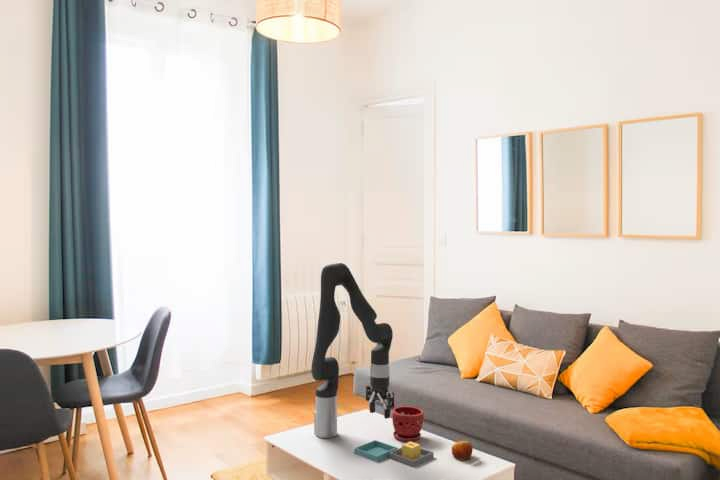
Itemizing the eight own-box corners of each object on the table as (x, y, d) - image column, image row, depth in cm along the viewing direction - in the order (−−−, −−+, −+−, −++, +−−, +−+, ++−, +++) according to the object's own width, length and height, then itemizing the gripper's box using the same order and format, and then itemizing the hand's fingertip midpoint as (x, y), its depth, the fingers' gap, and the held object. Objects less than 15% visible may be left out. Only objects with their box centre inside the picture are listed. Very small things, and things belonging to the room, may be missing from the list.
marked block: (402, 457, 233) (402, 444, 233) (410, 454, 237) (410, 441, 237) (412, 461, 230) (412, 447, 230) (420, 457, 234) (420, 444, 233)
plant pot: (407, 446, 246) (406, 417, 246) (386, 437, 257) (386, 409, 256) (429, 439, 254) (429, 411, 254) (408, 430, 265) (408, 403, 264)
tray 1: (354, 454, 238) (354, 448, 238) (375, 445, 247) (375, 439, 247) (376, 462, 230) (376, 456, 230) (397, 453, 238) (397, 447, 238)
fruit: (463, 461, 227) (456, 440, 230) (452, 466, 233) (446, 445, 236) (480, 457, 230) (473, 436, 234) (469, 462, 237) (462, 441, 240)
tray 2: (389, 458, 233) (388, 452, 233) (409, 450, 242) (409, 444, 242) (413, 467, 225) (413, 461, 225) (433, 458, 234) (433, 452, 234)
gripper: (360, 372, 240) (360, 412, 240) (385, 379, 229) (384, 422, 230) (374, 369, 245) (374, 408, 245) (399, 376, 234) (399, 417, 234)
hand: (379, 415), depth 237 cm, fingers open, 8 cm apart
